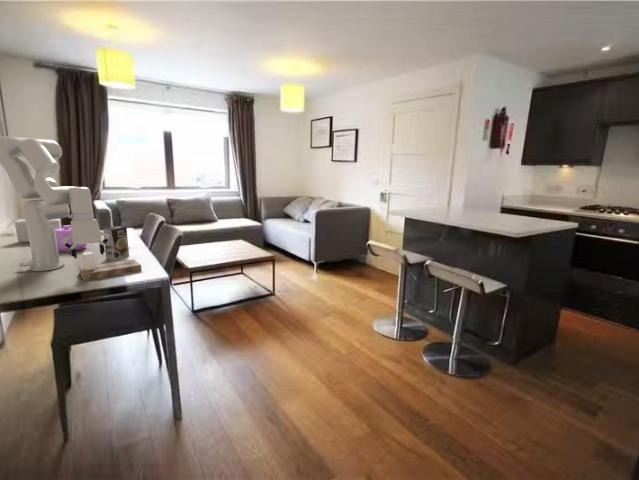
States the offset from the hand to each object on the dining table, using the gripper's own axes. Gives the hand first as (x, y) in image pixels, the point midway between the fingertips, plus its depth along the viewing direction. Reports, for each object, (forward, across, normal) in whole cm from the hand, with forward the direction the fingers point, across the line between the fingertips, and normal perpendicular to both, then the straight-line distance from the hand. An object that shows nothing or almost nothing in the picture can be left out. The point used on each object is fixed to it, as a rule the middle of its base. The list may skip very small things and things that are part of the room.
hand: (89, 255), depth 143 cm
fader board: (+9, +8, +1) cm, 12 cm away
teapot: (+8, 0, +61) cm, 61 cm away
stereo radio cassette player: (+7, -11, +93) cm, 94 cm away
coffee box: (+9, +16, +26) cm, 31 cm away
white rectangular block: (+6, 0, +1) cm, 6 cm away
